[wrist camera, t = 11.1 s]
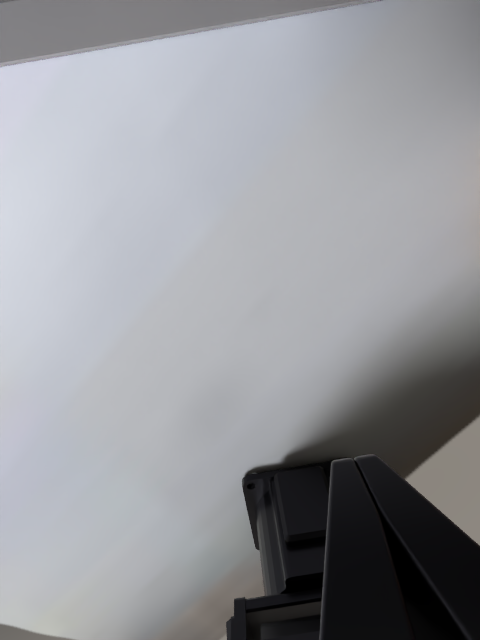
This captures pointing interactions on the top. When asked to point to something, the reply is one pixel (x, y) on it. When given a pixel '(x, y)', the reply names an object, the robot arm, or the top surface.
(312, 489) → the robot arm
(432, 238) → the top surface
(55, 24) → the button console
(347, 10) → the top surface
